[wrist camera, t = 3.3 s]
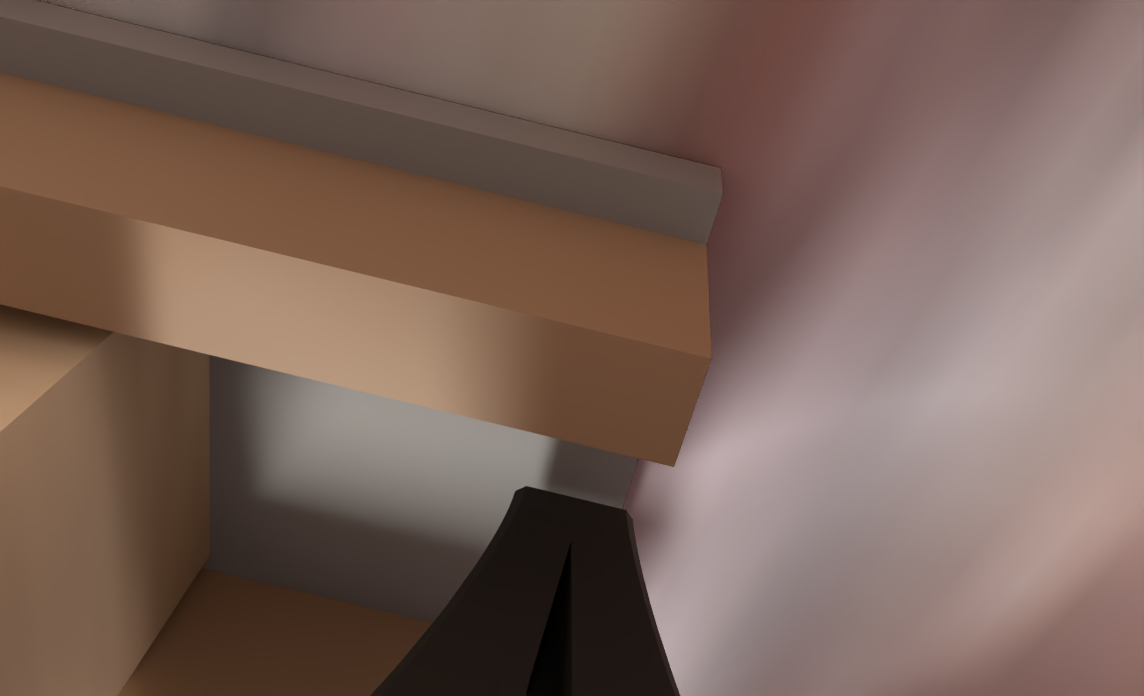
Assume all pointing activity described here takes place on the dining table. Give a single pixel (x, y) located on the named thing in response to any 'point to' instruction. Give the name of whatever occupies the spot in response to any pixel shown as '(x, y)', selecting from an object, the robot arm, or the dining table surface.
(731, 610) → the dining table surface
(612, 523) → the robot arm
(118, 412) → the birch block
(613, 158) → the chute
